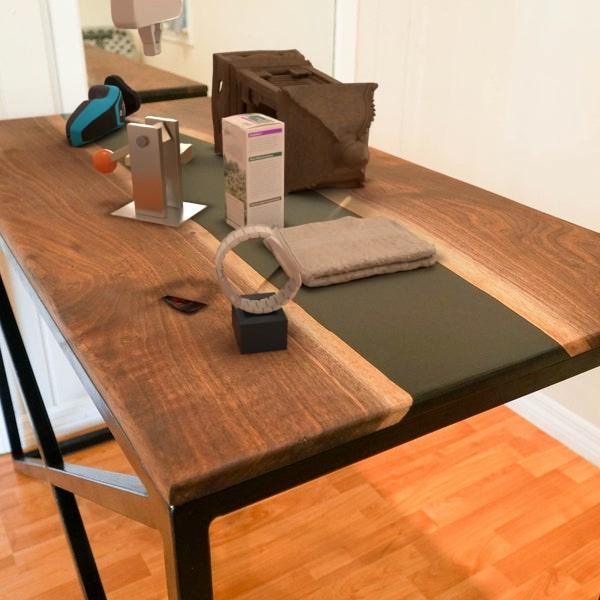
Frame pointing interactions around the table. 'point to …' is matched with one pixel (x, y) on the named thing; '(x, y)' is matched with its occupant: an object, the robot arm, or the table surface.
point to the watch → (263, 306)
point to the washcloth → (355, 249)
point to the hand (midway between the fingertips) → (152, 55)
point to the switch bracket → (156, 175)
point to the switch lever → (117, 155)
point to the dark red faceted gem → (183, 303)
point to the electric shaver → (102, 111)
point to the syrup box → (253, 170)
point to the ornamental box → (298, 114)
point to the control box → (185, 154)
